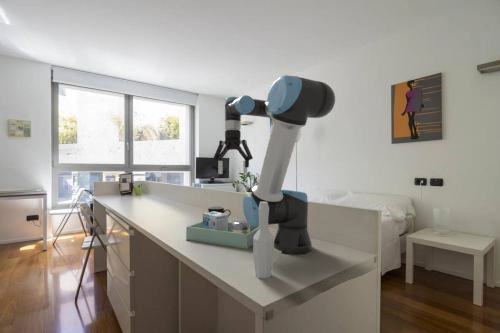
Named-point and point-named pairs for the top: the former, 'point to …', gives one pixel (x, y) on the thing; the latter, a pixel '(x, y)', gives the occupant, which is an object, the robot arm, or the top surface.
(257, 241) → the low poly bottle
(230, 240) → the box
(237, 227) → the tin can
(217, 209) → the coffee mug
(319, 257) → the top surface
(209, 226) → the light bulb box
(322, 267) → the top surface
